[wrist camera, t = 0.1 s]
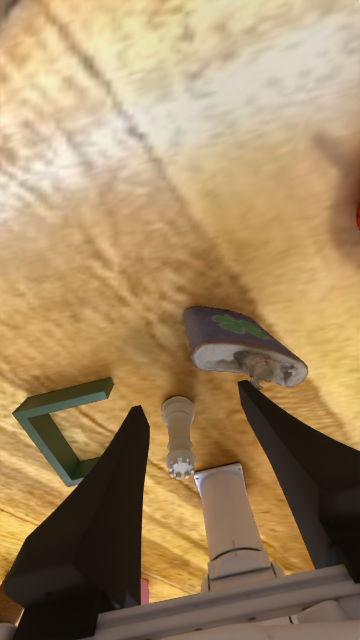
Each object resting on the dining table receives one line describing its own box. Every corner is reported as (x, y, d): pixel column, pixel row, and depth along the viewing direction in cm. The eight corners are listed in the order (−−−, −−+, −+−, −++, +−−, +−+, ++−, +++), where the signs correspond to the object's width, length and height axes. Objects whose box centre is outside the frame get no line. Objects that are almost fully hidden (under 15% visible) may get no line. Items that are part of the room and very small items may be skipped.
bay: (145, 452, 28) (143, 470, 26) (75, 468, 28) (67, 487, 26) (110, 377, 23) (104, 391, 21) (27, 397, 23) (11, 413, 21)
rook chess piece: (185, 422, 26) (191, 489, 19) (156, 413, 26) (151, 480, 18) (199, 399, 25) (212, 462, 18) (169, 390, 24) (169, 450, 17)
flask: (180, 324, 21) (191, 387, 11) (186, 299, 20) (204, 345, 10) (252, 339, 22) (321, 408, 12) (261, 317, 22) (344, 373, 11)
